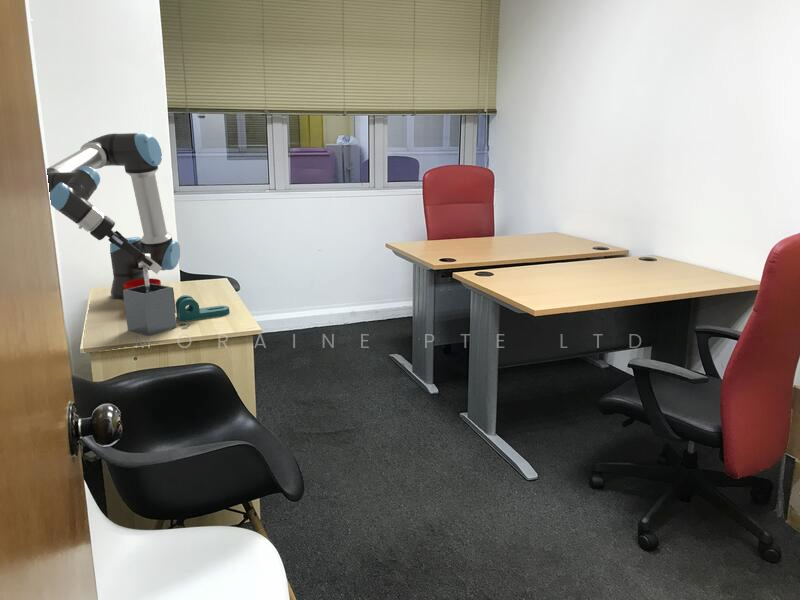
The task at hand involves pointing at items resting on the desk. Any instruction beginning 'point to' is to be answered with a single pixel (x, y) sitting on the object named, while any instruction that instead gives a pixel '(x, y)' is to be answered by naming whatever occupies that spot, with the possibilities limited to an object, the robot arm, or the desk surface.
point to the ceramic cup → (140, 283)
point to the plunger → (145, 274)
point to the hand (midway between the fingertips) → (157, 269)
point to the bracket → (197, 310)
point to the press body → (150, 309)
